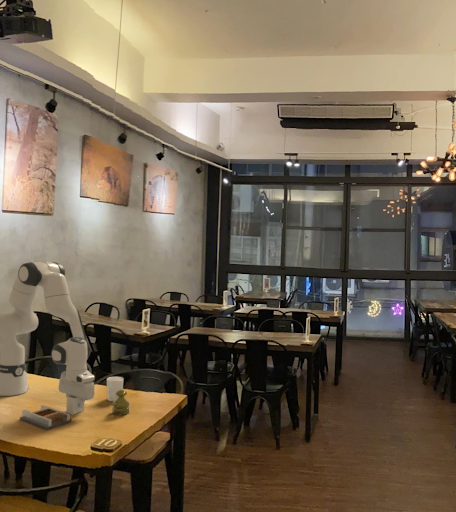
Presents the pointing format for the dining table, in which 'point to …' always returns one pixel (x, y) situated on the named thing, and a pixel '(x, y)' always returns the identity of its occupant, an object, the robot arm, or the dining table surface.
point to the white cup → (114, 387)
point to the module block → (73, 405)
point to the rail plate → (46, 417)
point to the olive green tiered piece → (120, 404)
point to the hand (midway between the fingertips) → (75, 405)
